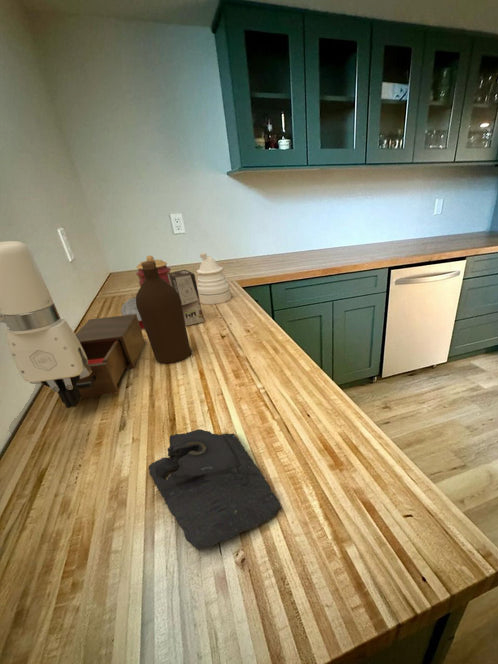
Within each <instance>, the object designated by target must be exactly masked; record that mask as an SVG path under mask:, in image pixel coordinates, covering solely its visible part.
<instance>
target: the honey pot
mask: <svg viewBox="0 0 498 664" xmlns="http://www.w3.org/2000/svg"><path fill="white" fill-rule="evenodd" d="M199 257H200V259H202V260H201V262H200V265H199V269H196V273H197V274H198V276H197V280H196V284H197V289H198V294H199V299H200V304H203V305H216V304H222V303H225V302H228V301H230V300H231V299H232V294H231V288H230V283H229V282H228V279H227V278H226V275H225V274H224V272H223V271H224V268H223V267H222V266H219V264H218V263H217V261H216V260H215V259H214V258H213V257H212V256H209V255H207V252H200V253H199Z"/></svg>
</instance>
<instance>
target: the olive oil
mask: <svg viewBox="0 0 498 664" xmlns="http://www.w3.org/2000/svg"><path fill="white" fill-rule="evenodd" d="M146 261H147V260H146ZM142 262H143V261H142ZM140 263H141V262H140ZM141 265H142V267H143V269H142V270H143V274H144V277H145V280H144V282H143V284H142V286H141V287H140V286H139V289H138V291H137V292H136V296H135V297H136V306H137V309H138V312H139V315H140V317H141V320H142V323H143V325H144V328H145V329H144V331H145V334H146V336H147V339H148V342H149V344H150V347H151V350H152V354H153V356H154V359H155V361H156V362H158V363H160V364H174V363H178V362H182V361H183V360H185V359H187V358H188V357H189V356H190V355H191V353H192V351H191V346H190V342H189V336H188V331H187V325H185V320H184V314H183V309H182V301H181V299H180V296H179V294H178V292H177V291H176V289H175V288H174V287H172V286H171V285H170V284H168V283H167V282H165V281H164V280H162V279H161V278H160V277H159V273H158V269H157V267H156V263H155V262H154V261H147V262H143V263H141Z"/></svg>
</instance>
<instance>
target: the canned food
mask: <svg viewBox="0 0 498 664" xmlns="http://www.w3.org/2000/svg"><path fill="white" fill-rule="evenodd" d="M120 313H121V316H123V315H132V314H136V315H137V318H138V321H139V324H140V328H141V330H145V328H144V325H143V323H142V320H141V317H140V315H139V312H138V309H137V306H136V296H134V297H131V298H129V299H127V300H126V301H125V302H124V303H123V305H122V306H121V310H120Z"/></svg>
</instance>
